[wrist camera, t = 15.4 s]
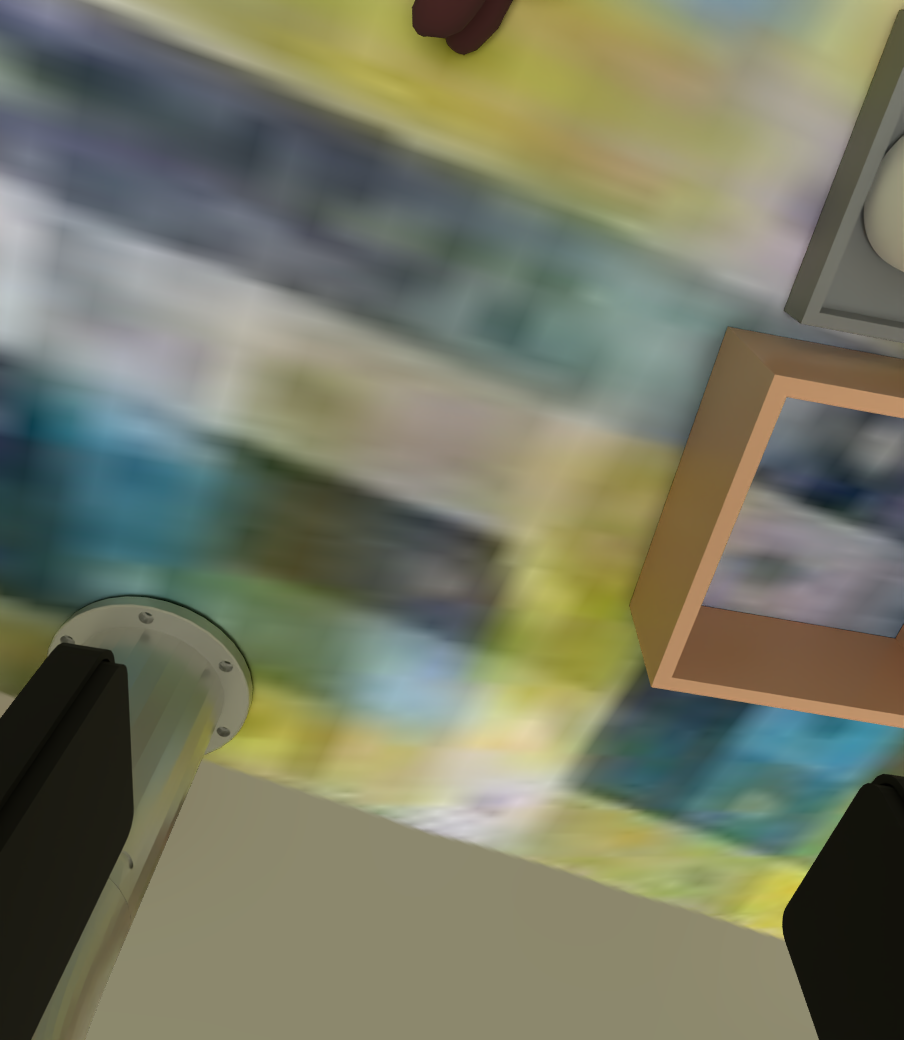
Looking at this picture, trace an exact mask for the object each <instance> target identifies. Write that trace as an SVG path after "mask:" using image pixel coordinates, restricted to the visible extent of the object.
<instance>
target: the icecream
mask: <svg viewBox="0 0 904 1040" xmlns="http://www.w3.org/2000/svg"><path fill="white" fill-rule="evenodd" d="M512 1H513V0H415V2H414V4H413V7H412V24H413V27H414V29H415V30H416V32H417V34H419V35H421V36H423V37H426V36H428V37H439V38H446V42H447V44H448V46H449V47H450V48H451V49H452V50H454V51H455V52H457V53H459V54H463V55H465V54H467V53H470V52H472V51H475V50H477V49H478V48H479V47H480V46H481V45H482V44H483V43H484V42H485V41H486V40H487V39H488V38H489V37H490V36H491V35H492V34H493V33H494V32H495V31H496V30H497V29H498V28H499V26H500V24H501V22H502V20H503V18H504V16H505V14H506V12H507V10H508V9H509V7H510V5H511V3H512Z"/></svg>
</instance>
